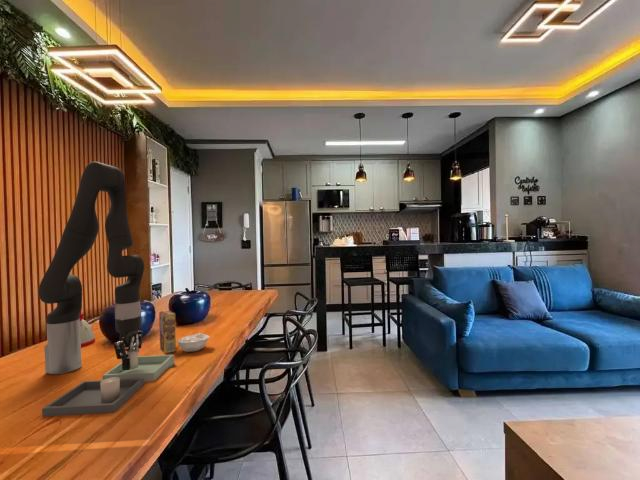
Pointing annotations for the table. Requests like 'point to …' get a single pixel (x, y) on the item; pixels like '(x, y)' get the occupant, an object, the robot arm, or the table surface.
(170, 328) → the candy box
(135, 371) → the shallow green tray
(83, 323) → the kitchen timer
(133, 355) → the pebble
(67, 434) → the table surface
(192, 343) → the cell model
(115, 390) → the pebble
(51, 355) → the robot arm
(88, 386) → the parts tray
